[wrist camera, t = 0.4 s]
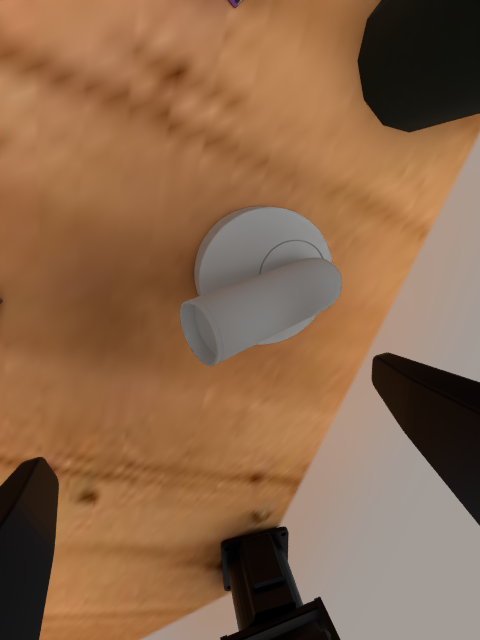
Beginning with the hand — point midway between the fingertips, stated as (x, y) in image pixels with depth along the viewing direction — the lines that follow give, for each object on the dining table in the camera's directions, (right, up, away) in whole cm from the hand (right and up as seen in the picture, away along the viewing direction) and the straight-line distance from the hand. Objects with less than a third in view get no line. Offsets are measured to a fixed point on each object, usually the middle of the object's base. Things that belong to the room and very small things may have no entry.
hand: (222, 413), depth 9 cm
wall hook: (+1, +6, +14) cm, 15 cm away
